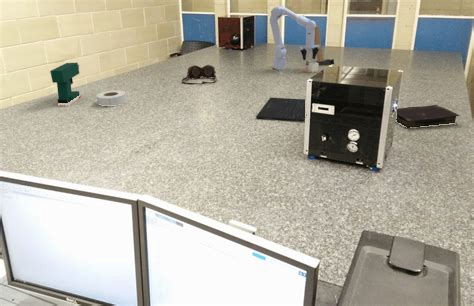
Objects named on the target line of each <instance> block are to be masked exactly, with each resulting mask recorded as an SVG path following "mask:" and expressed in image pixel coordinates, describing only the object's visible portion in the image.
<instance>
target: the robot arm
mask: <svg viewBox="0 0 474 306" xmlns="http://www.w3.org/2000/svg"><path fill="white" fill-rule="evenodd" d="M283 16H287V17H289V18H290V19H293V20H295V21H296V24H298V25H300V26H301V27H303V28H305V30H306V31H305V32H306V33H305V45H303V46H299V52H300V53H301V56H302V60H303V61H307V60H306V59H307V52H308V51H307V50H311V51H312V55H311V56H312V59H313V60H315V59H316V58H317V52H318V51H319V49H318V48H319V45H315V39H314V37H315V27H316V26H317V22H315V20H312V19H311V18H307V17H305V15H304V14H303V15H301V14H300V15H298V14H296V13H295V12H293V11H292V10H290V9H289V8H287V7H285V6H284V5H279V6H275V7H273V8H272V9H271V11H270V17H269V22H270V23H269V24H270V27H271V32H272V37H273V41H274V54H273V55H274V58H273V65H272V66H273V68H272V70H273V71H275V72H280V71H281V70H286V64H287V63H286V62H287V61H286V59H287V57H286V56H287V54H288V50H287V48H286V46H285V44H284V43H283V38H282V35H281V30H280V26H279V20H280V18H281V17H283Z"/></svg>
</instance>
